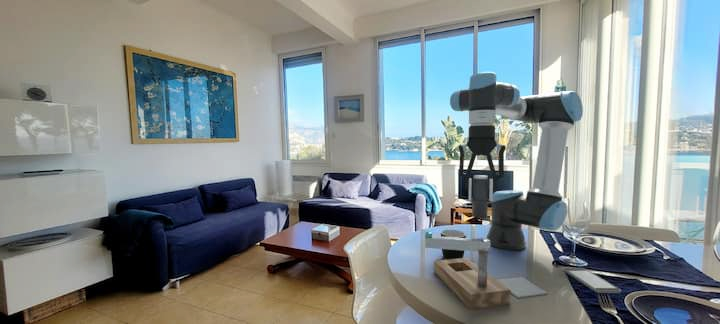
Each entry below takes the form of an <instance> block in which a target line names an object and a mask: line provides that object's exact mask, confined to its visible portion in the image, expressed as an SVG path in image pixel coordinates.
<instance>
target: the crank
mask: <svg viewBox="0 0 720 324" xmlns="http://www.w3.org/2000/svg"><path fill="white" fill-rule="evenodd" d="M490 242H491V241H490V240H488V239H487V238H485V237H484V238H482V237H479V238H470V237H466V238H457V237H442V236H441V235H433V232H432V231H425V232H424V245H425V246H424V248H425V249H437V250H442V249H449V250H462V251H464V252H478V253H479V252H480V253H488V254H490V253H491V245H490Z"/></svg>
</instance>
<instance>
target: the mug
mask: <svg viewBox="0 0 720 324" xmlns="http://www.w3.org/2000/svg"><path fill="white" fill-rule="evenodd" d="M440 236H442V237H457V238H467V234H466V232H464V231H462V230H460V229H459V230H458V229H452V228H451V229H450V228H449V229H444V230H443V229H442V230H441V231H440ZM441 252H442V257H443V260H447V259H458V258H464V254H465V251H462V250H449V249H441Z"/></svg>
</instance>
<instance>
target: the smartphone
mask: <svg viewBox="0 0 720 324" xmlns="http://www.w3.org/2000/svg"><path fill="white" fill-rule="evenodd" d="M563 272H565V273H566V274H568V275H569V276H570V277H572V278H573V279H575V280H576V281H578V282H579V283H581V284H582V285H584V286H585V287H587V288H589V289H590V290H592V291H593V292H595V293H596V294H621V292H622V290H621V288H619V287H617V286H615V285H613V284H612V283H611V282H608V281H607V280H606V279H603V278H601V277H600V276H599V275H597V274H595V273H593V272H591V271H590V270H588V269H586V268H584V267H564V268H563Z"/></svg>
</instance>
